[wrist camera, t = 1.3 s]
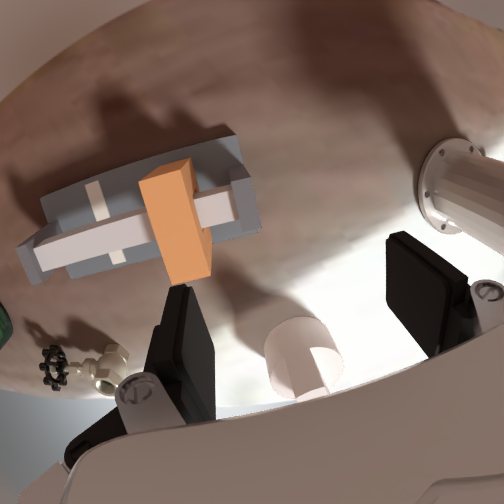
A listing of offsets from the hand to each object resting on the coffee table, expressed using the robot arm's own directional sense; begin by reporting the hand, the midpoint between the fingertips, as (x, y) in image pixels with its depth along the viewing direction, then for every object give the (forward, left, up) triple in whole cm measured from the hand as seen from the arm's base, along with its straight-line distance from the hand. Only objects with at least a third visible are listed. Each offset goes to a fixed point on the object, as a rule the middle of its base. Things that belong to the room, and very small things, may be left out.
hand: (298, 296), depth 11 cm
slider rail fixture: (+11, 0, -22) cm, 24 cm away
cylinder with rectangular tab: (-2, +22, -22) cm, 31 cm away
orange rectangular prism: (+6, 0, -19) cm, 20 cm away
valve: (+26, +17, -22) cm, 38 cm away
